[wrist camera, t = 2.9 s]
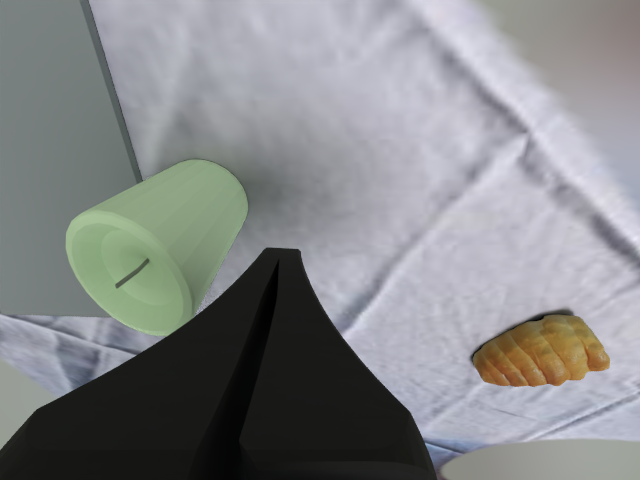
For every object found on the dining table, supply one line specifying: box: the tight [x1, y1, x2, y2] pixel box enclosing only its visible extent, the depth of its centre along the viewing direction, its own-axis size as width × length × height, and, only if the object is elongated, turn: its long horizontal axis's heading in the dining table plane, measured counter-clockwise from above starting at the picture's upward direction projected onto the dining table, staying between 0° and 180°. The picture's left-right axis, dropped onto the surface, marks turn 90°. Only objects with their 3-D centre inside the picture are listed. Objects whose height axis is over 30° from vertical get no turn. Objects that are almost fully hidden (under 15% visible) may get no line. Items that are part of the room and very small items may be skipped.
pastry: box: [473, 314, 610, 387], centre depth 22 cm, size 9×7×4 cm
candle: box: [66, 160, 248, 336], centre depth 11 cm, size 5×5×8 cm
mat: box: [0, 0, 142, 317], centre depth 14 cm, size 20×13×1 cm, turn 176°
